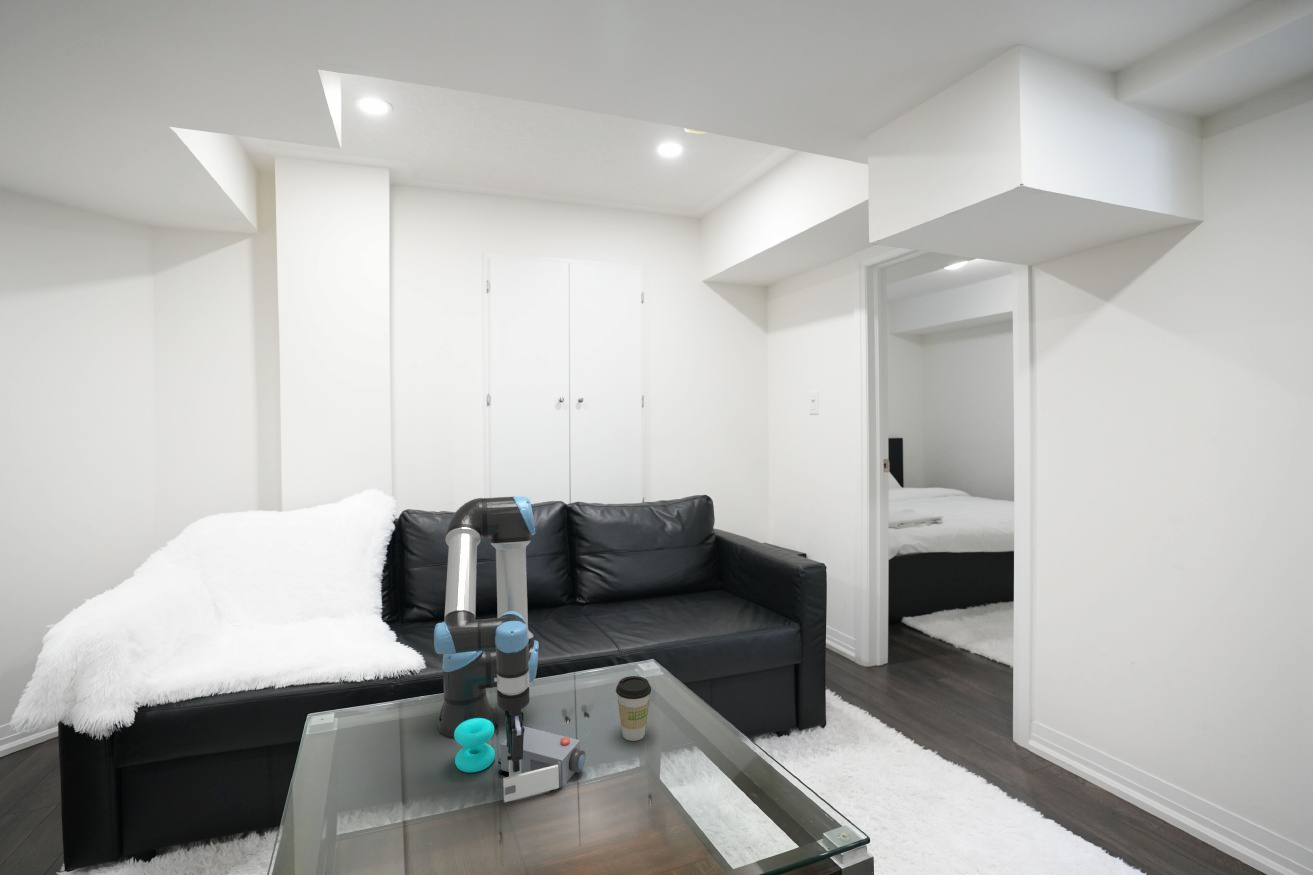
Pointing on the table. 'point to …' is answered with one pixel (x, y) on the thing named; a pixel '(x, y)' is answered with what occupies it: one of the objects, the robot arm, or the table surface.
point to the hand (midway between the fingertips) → (515, 780)
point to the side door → (532, 782)
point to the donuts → (474, 745)
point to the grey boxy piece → (547, 753)
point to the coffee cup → (633, 706)
